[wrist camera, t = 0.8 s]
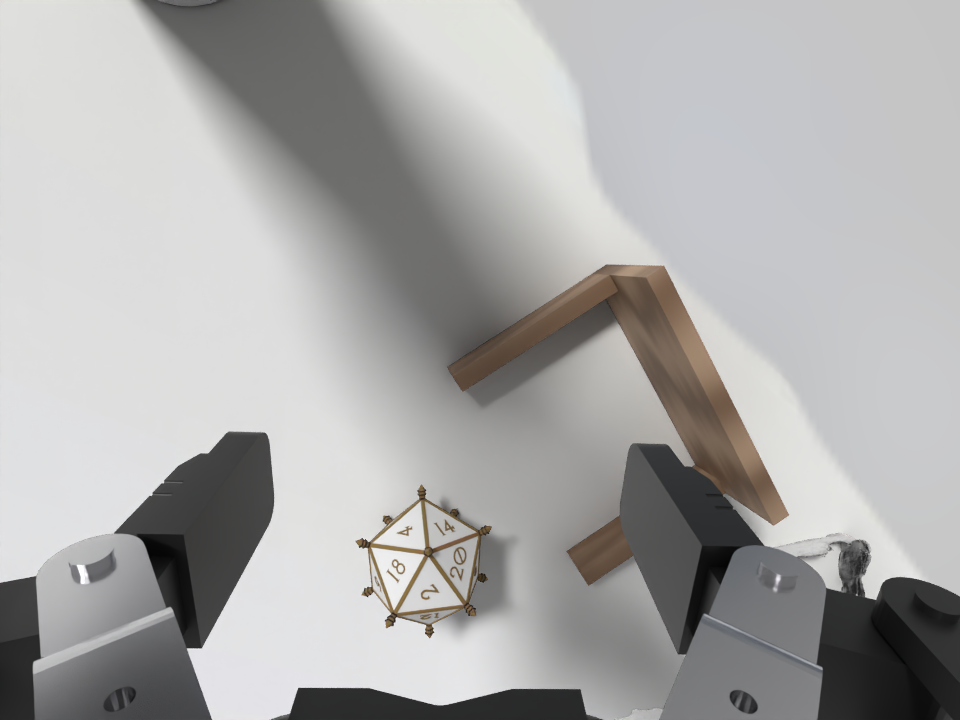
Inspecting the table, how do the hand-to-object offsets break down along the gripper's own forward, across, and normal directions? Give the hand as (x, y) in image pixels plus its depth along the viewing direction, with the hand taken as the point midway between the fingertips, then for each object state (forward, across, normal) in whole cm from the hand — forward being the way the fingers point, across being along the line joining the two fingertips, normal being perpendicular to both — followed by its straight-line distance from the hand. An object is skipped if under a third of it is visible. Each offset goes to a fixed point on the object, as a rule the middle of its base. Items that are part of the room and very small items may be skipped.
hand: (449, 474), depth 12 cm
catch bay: (+25, -10, +11) cm, 29 cm away
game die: (+22, +2, +18) cm, 29 cm away
